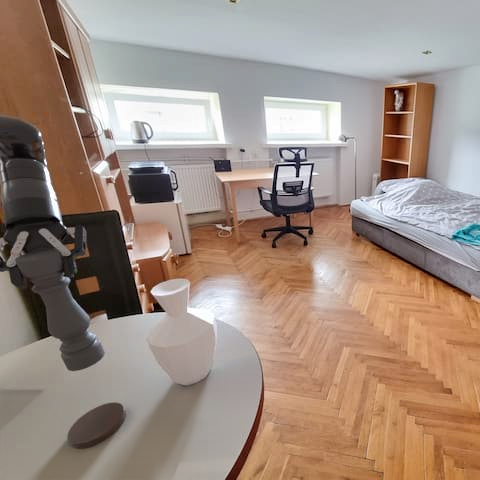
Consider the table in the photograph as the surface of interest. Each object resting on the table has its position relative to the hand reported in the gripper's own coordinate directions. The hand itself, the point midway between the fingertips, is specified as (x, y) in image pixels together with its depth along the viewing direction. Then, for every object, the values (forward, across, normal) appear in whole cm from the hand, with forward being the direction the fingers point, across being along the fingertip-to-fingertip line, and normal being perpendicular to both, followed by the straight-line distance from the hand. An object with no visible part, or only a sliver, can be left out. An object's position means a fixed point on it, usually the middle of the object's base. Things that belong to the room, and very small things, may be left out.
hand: (46, 281), depth 53 cm
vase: (+25, -18, -21) cm, 37 cm away
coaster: (+27, +1, -18) cm, 33 cm away
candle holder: (+13, 0, -16) cm, 21 cm away
